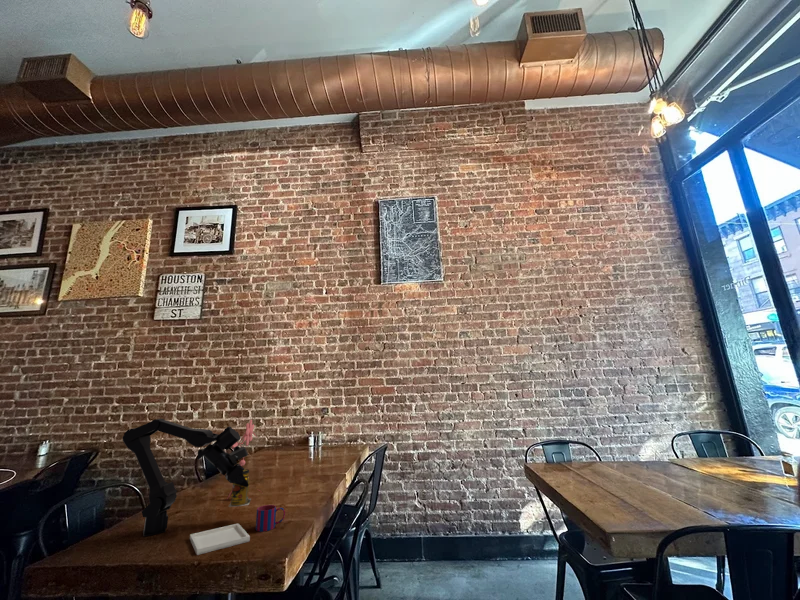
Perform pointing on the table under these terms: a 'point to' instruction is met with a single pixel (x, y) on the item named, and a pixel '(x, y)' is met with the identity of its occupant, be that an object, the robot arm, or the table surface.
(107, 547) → the table surface
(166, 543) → the table surface
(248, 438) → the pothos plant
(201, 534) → the tray
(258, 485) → the table surface
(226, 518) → the table surface
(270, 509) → the mug
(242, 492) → the condiment
